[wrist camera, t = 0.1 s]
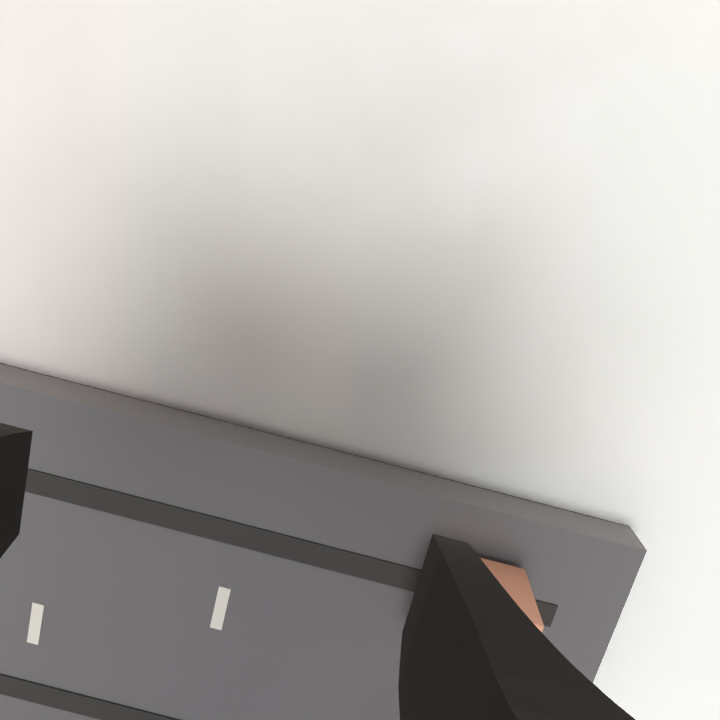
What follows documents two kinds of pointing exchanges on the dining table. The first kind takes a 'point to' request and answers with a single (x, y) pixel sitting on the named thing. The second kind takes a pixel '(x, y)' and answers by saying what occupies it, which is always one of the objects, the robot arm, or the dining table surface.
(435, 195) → the dining table surface
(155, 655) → the console
